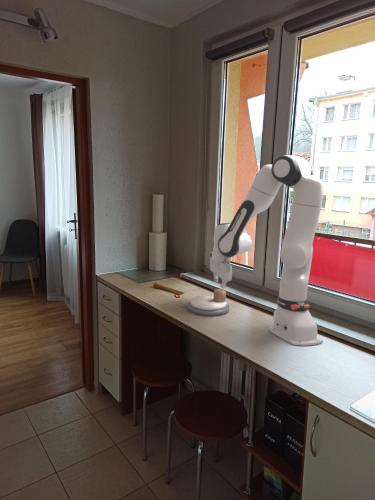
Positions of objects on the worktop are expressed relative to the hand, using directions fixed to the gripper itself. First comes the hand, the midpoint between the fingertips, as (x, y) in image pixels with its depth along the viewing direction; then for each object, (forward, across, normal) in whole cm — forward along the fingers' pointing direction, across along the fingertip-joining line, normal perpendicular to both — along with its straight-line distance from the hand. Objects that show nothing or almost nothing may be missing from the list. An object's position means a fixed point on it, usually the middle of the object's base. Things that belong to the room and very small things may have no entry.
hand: (219, 284), depth 177 cm
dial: (+9, 0, +5) cm, 11 cm away
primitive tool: (+13, +30, +17) cm, 37 cm away
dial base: (+12, 0, +5) cm, 13 cm away
